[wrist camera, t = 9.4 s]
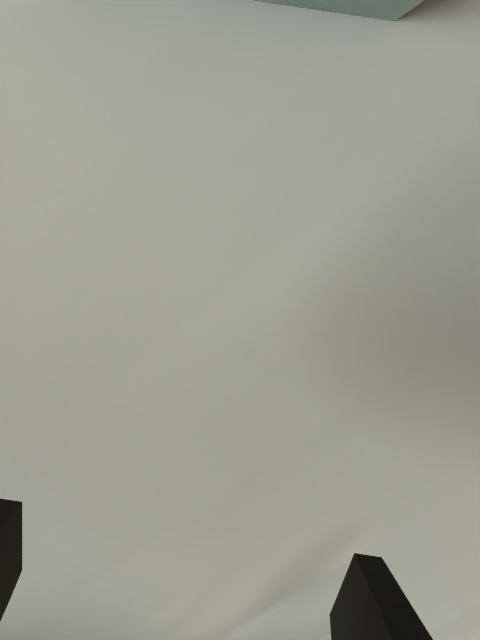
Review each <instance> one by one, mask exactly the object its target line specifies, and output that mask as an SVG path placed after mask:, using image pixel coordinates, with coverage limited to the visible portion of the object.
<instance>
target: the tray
mask: <svg viewBox="0 0 480 640" xmlns="http://www.w3.org/2000/svg"><path fill="white" fill-rule="evenodd" d="M256 1H263V2H270V3H277V4H284V5H290V6H297V7H304V8H311V9H317V10H324V11H331V12H338V13H345V14H351V15H358V16H365V17H372V18H379V19H385V20H392V21H396V20H398V19H399V18H401V17H402V16H403V15H405V14H406V13H408V12H409V11H410V10H412V9H413V8H414V7H416V6H417V5H419V4H420V3H421V2H423V1H424V0H256Z"/></svg>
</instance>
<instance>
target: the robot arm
mask: <svg viewBox="0 0 480 640" xmlns="http://www.w3.org/2000/svg"><path fill="white" fill-rule="evenodd" d="M21 571H22V502H18V501H12V500H5V499H0V621H1V618H2V616H3V614H4V612H5V609H6V607H7V605H8V602H9V600H10V598H11V595H12V593H13V590H14V588H15V586H16V583H17V581H18V578H19V576H20V574H21ZM330 624H331V638H332V640H433V639H432V637H431V636H430V634H429V633H428V631H427V630H426V628H425V626H424V625H423V623H422V622H421V620H420V618H419V617H418V615H417V614H416V612H415V610H414V609H413V607H412V606H411V604H410V602H409V601H408V599H407V598H406V596H405V594H404V593H403V591H402V589H401V588H400V586H399V585H398V583H397V581H396V580H395V578H394V576H393V575H392V573H391V572H390V570H389V568H388V567H387V565H386V564H385V562H384V560H383V559H382V557H375V556H369V555H362V554H356V553H354V556H353V558H352V561H351V563H350V566H349V568H348V571H347V573H346V576H345V578H344V581H343V583H342V586H341V588H340V591H339V593H338V596H337V598H336V601H335V603H334V605H333V608H332V610H331V613H330Z"/></svg>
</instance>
